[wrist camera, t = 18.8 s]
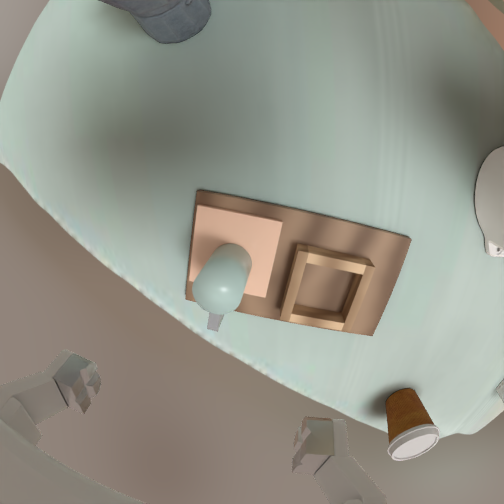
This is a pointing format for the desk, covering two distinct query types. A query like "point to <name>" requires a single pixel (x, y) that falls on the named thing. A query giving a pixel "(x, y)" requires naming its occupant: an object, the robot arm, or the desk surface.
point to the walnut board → (320, 268)
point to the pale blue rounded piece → (222, 282)
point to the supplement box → (501, 390)
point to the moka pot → (167, 17)
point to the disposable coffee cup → (409, 426)
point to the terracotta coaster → (236, 242)
